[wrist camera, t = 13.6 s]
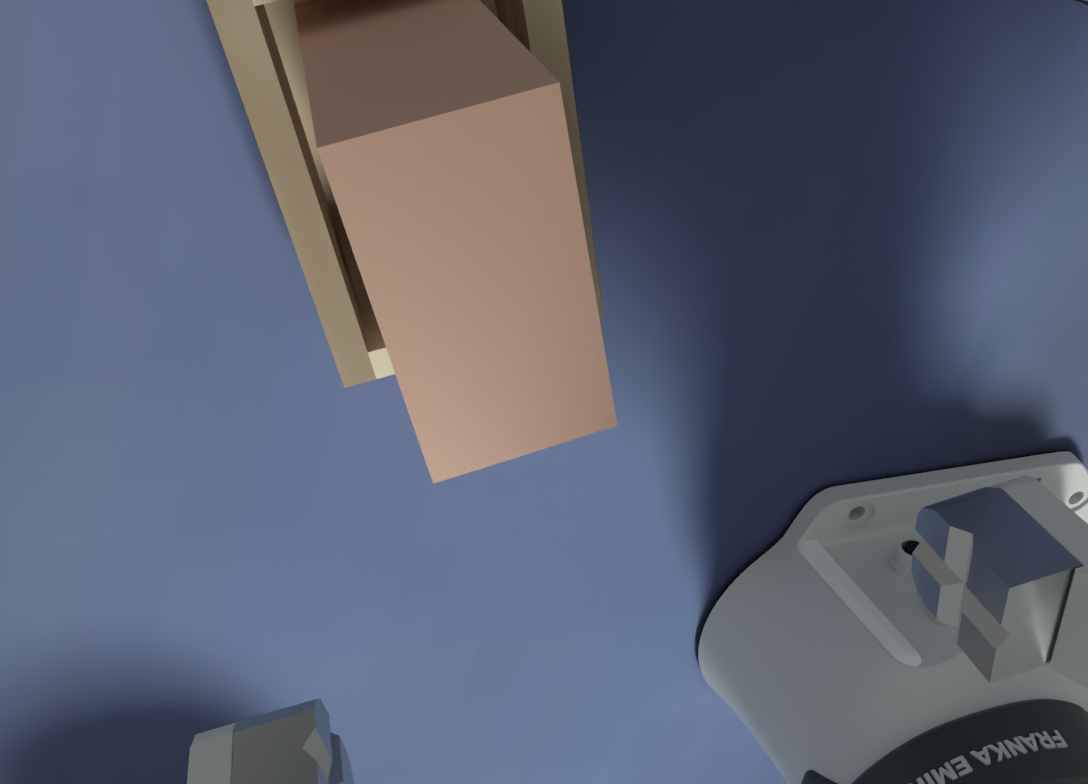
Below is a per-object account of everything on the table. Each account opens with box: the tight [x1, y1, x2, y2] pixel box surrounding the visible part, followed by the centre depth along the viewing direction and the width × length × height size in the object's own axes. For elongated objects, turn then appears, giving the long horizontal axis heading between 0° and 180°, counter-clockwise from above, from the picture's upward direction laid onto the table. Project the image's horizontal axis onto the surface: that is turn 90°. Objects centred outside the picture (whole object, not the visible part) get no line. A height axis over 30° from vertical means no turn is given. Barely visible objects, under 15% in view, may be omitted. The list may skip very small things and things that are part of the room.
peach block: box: [294, 0, 618, 484], centre depth 23 cm, size 4×8×12 cm, turn 10°
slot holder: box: [206, 0, 604, 388], centre depth 26 cm, size 8×12×5 cm
